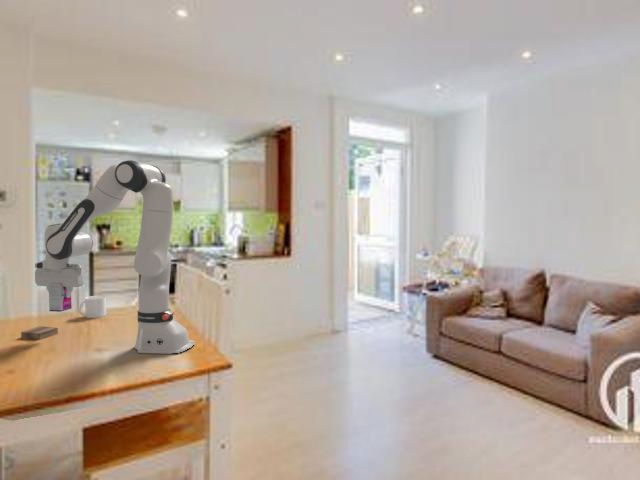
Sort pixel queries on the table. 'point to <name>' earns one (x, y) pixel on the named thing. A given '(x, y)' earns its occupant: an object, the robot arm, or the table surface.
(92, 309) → the mug
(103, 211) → the robot arm
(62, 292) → the supplement box
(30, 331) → the base slab
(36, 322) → the table surface
